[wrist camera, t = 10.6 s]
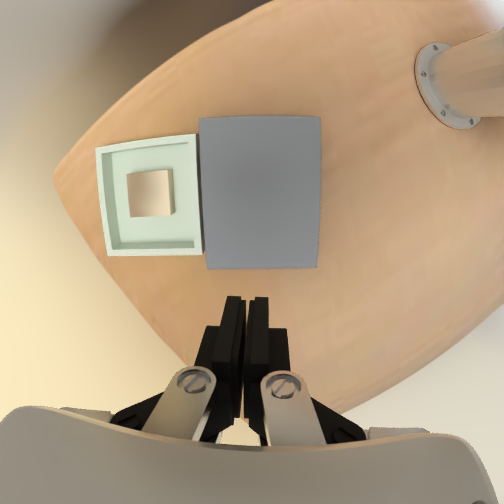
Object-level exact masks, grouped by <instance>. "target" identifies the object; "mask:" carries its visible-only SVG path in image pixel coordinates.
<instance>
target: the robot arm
mask: <svg viewBox="0 0 504 504" xmlns="http://www.w3.org/2000/svg"><path fill="white" fill-rule="evenodd" d="M415 76H416V80H417V85H418V88H419V90H420V93H421V95H422V97H423V99H424V101H425V103H426V104H427V106H428V107H429V109H430V110H431V111H432V113H433V114H434V115H435V116H436V117H437V118H438V119H439V120H440V121H441V122H443V123H444V124H446V125H447V126H449V127H452V128H454V129H469V128H472V127H474V126H475V125H477V123H478V122H479V121H480V119H481V117H499V116H504V28H501V29H498V30H495V31H493V32H490V33H487V34H484V35H481V36H479V37H476V38H473V39H471V40H468V41H466V42H463V43H461V44H458V45H456V46H453V47H452V46H450V45H447V44H444V43H431V44H429V45H427V46H425V47H424V48H423V49H421V51H420V52H419V54H418V55H417V58H416V63H415ZM243 388H244V418H249V427H250V428H251V429H252V430H254V431H255V432H256V433H257V434H258V441H259V446H242V445H228V444H219V443H220V440H221V437H222V431H223V430H224V429H226V428H228V427H229V426H231V425H233V424H234V418H240V410H241V400H242V390H243ZM0 504H498V500H497V497H496V494H495V491H494V488H493V486H492V483H491V481H490V478H489V476H488V474H487V471H486V469H485V467H484V465H483V463H482V461H481V459H480V458H479V456H478V454H477V453H476V451H475V450H474V448H473V447H472V446H471V445H470V444H469V443H468V442H467V441H465V440H464V439H462V438H460V437H458V436H454V435H449V434H439V433H430V432H429V431H427V430H425V429H423V428H378V427H370V428H369V430H363V429H362V428H361V427H359V426H358V425H357V424H355V423H353V422H352V421H350V420H348V419H346V418H345V417H343V416H341V415H339V414H338V413H336V412H334V411H333V410H331V409H329V408H328V407H326V406H325V405H323V404H321V403H320V402H318V401H316V400H315V399H313V398H312V397H310V394H309V392H308V389H307V386H306V383H305V381H304V380H303V378H302V377H300V376H299V375H298V374H296V373H294V372H291V371H290V359H289V348H288V337H287V329H286V328H269V308H268V297H255V300H250V304H249V313H248V323H247V332H246V300H241V296H227V300H226V304H225V308H224V312H223V316H222V320H221V324H220V326H206V329H205V332H204V335H203V338H202V341H201V345H200V348H199V351H198V354H197V358H196V361H195V364H194V366H191V367H186V368H183V369H181V370H180V371H178V372H177V373H176V374H175V375H174V376H173V378H172V380H171V381H170V383H169V385H168V387H167V388H166V390H165V391H164V392H162V393H160V394H158V395H155V396H153V397H151V398H149V399H146V400H144V401H142V402H140V403H137V404H135V405H132V406H130V407H128V408H125V409H123V410H121V411H119V412H117V413H116V414H115V415H114V414H111V413H110V411H97V410H86V409H77V408H69V407H64V408H60V409H57V408H52V407H45V406H24V407H19V408H16V409H14V410H13V411H11V412H10V413H9V414H8V415H7V416H6V417H5V418H4V419H3V420H2V421H1V422H0Z"/></svg>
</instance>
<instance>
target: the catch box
mask: <svg viewBox="0 0 504 504" xmlns="http://www.w3.org/2000/svg"><path fill="white" fill-rule="evenodd" d="M95 149H96V167H97V180H98V191H99V200H100V209H101V216H102V224H103V230H104V237H105V243H106V249H107V254H108V256H158V255H203V253H204V251H205V236H204V221H203V205H202V187H201V166H200V137H199V135H198V134H186V135H176V136H167V137H159V138H151V139H144V140H137V141H131V142H125V143H119V144H113V145H108V146H103V147H98V148H95ZM165 169H173V180H174V196H175V210H176V212H175V213H173V214H172V215H171V216H151V217H132V218H130V211H129V201H128V190H127V177H126V174H129V173H135V172H144V171H154V170H165Z"/></svg>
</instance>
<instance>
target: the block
mask: <svg viewBox="0 0 504 504" xmlns="http://www.w3.org/2000/svg"><path fill="white" fill-rule="evenodd" d="M126 177H127V190H128V201H129V211H130V218H132V217H151V216H171V215H172V214H173V213H175V212H176V210H175V196H174V180H173V169H165V170H154V171H144V172H135V173H129V174H126Z"/></svg>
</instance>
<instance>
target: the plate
mask: <svg viewBox="0 0 504 504" xmlns="http://www.w3.org/2000/svg"><path fill="white" fill-rule="evenodd" d="M199 137H200V166H201V187H202V205H203V221H204V236H205V249H206V261H207V269H282V268H317V261H318V244H319V223H320V191H321V125H320V117H310V116H231V117H214V118H201V119H199Z"/></svg>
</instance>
